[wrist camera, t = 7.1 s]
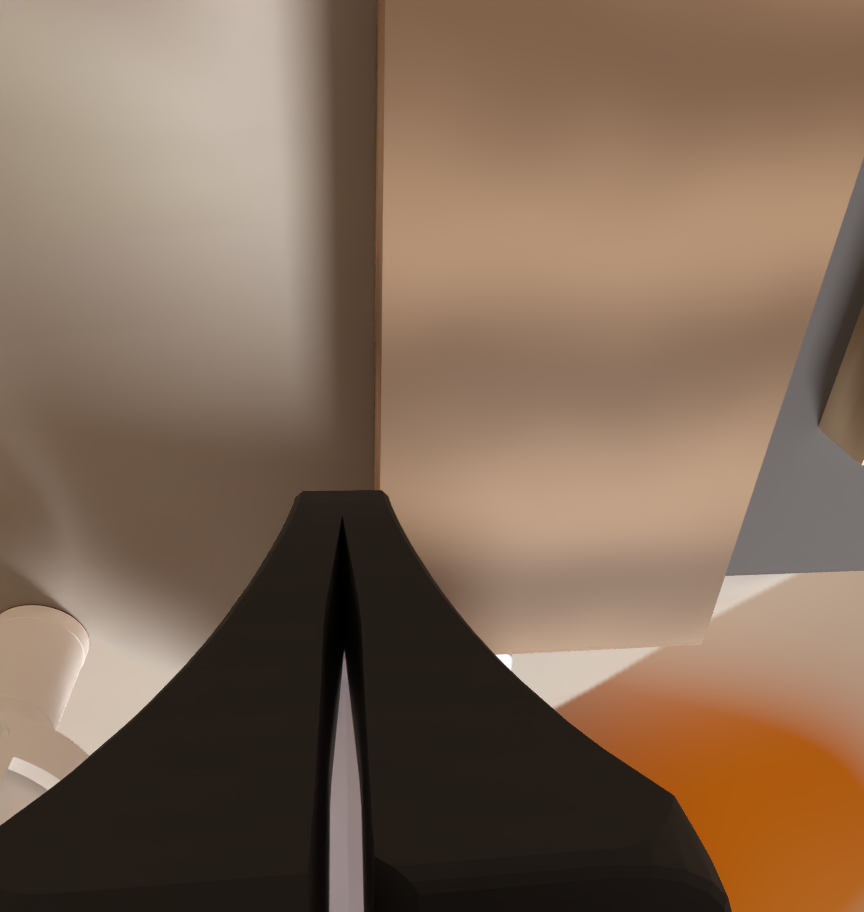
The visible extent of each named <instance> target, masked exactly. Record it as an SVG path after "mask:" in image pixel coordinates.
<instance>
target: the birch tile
mask: <svg viewBox="0 0 864 912" xmlns="http://www.w3.org/2000/svg"><path fill="white" fill-rule="evenodd" d="M818 428H819V429H820V430H821V431H822V432H823V433H825V434H826V435H827V436H828V437H829V438H830V439H831V440H833V441H834V442H835V443H836V444H837V445H838V446H840V447H841V448H842V449H843V450H844V451H845V452H846V453H848V454H849V455H850V456H851V457H852V458H853V459H855V460H856V461H857V462H858V463H859V464H860V465H864V304H863V306H862V309H861V312H860V314H859V317H858V320H857V323H856V325H855V328H854V331H853V334H852V336H851V339H850V342H849V344H848V347H847V350H846V353H845V355H844V358H843V361H842V363H841V366H840V369H839V372H838V374H837V377H836V380H835V383H834V385H833V388H832V391H831V393H830V396H829V399H828V402H827V404H826V407H825V410H824V412H823V415H822V418H821V421H820V423H819V426H818Z"/></svg>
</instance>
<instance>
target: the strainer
mask: <svg viewBox="0 0 864 912" xmlns="http://www.w3.org/2000/svg"><path fill="white" fill-rule="evenodd" d="M88 650H89V637H88V635H87V632H86V631H85V629H84V628H83V626H82V625H81V624H80V623H79V622H78V621H77V620H75V619H74V618H73V617H71V616H70V615H68V614H66V613H64V612H62V611H60V610H57V609H54V608H50V607H46V606H38V605H25V606H18V607H14V608H11V609H9V610H6V611H4V612H3V613H1V614H0V825H2V824H3V823H4V822H6V821H7V820H8V819H10V818H11V817H12V816H14V815H15V814H16V813H18V812H19V811H20V810H22V809H23V808H25V807H26V806H27V805H29V804H30V803H31V802H33V801H34V800H35V799H37V798H38V797H39V796H41V795H42V794H44V793H45V792H46V791H48V790H49V789H50V788H52V787H53V786H54V785H56V784H57V783H58V782H59V781H61V780H62V779H63V778H64V777H66V776H67V775H68V774H69V773H71V772H72V771H73V770H74V769H75V768H76V767H78V766H79V765H80V764H81V763H82V762H83V761H85V760H86V759H87V758H88V757H89V755H88V754H87V753H86V752H85V751H84V750H83V749H81V748H80V747H79V746H78V745H77V744H75V743H74V742H73V741H71V740H70V739H69V738H67V737H66V736H64V735H62V734H61V733H59V732H57V729H58V726H59V724H60V720H61V717H62V715H63V712H64V710H65V707H66V705H67V702H68V700H69V697H70V695H71V692H72V690H73V687H74V684H75V682H76V679H77V677H78V674H79V672H80V669H81V667H82V665H83V663H84V661H85V658H86V655H87V653H88Z"/></svg>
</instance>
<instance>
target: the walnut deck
mask: <svg viewBox="0 0 864 912" xmlns="http://www.w3.org/2000/svg"><path fill="white" fill-rule="evenodd" d="M863 158H864V0H377V39H376V227H375V414H374V490H382V491H383V492H384V493H385V494H387V495H388V496H389V500H390V502H391V505H392V507H393V510H394V512H395V514H396V516H397V519H398V521H399V523H400V525H401V527H402V528H403V530H404V532H405V534H406V536H407V538H408V539H409V541H410V543H411V545H412V546H413V548H414V550H415V551H416V553H417V554H418V556H419V558H420V559H421V561H422V562H423V564H424V565H425V567H426V568H427V570H428V571H429V573H430V575H431V576H432V578H433V579H434V580H435V582H436V583H437V585H438V586H439V587H440V589H441V590H442V592H443V593H444V594H445V596H446V597H447V598H448V600H449V601H450V602H451V604H452V605H453V606H454V608H455V609H456V610H457V611H458V613H459V614H460V615H461V616H462V618H463V619H464V620H465V621H466V623H467V624H468V625H469V626H470V627H471V628H472V630H473V631H474V632H475V633H476V634H477V635H478V637H479V638H480V639H481V640H482V641H483V642H484V643H485V644H486V645H487V646H488V647H489V649H490V650H491V651H492V652H493V653H494V654H495V655H502V654H522V653H542V652H562V651H582V650H602V649H622V648H642V647H662V646H681V645H700V644H701V645H702V643H703V641H704V637H705V634H706V631H707V628H708V625H709V622H710V619H711V616H712V613H713V610H714V607H715V604H716V601H717V598H718V595H719V592H720V589H721V586H722V583H723V580H724V577H725V574H726V571H727V568H728V565H729V562H730V559H731V556H732V553H733V550H734V547H735V544H736V541H737V538H738V535H739V532H740V529H741V526H742V523H743V520H744V517H745V514H746V511H747V508H748V505H749V502H750V499H751V496H752V493H753V490H754V487H755V484H756V481H757V478H758V475H759V472H760V469H761V466H762V463H763V460H764V457H765V454H766V451H767V448H768V445H769V441H770V438H771V435H772V432H773V429H774V426H775V423H776V420H777V417H778V414H779V411H780V408H781V405H782V402H783V399H784V396H785V393H786V390H787V387H788V384H789V381H790V378H791V375H792V372H793V369H794V366H795V363H796V360H797V357H798V354H799V351H800V348H801V345H802V342H803V339H804V336H805V333H806V330H807V327H808V324H809V321H810V318H811V315H812V312H813V309H814V306H815V303H816V300H817V297H818V294H819V291H820V288H821V285H822V282H823V279H824V276H825V273H826V270H827V267H828V264H829V261H830V258H831V255H832V252H833V249H834V245H835V242H836V239H837V236H838V233H839V230H840V227H841V224H842V221H843V218H844V215H845V212H846V209H847V206H848V203H849V200H850V197H851V194H852V191H853V188H854V185H855V182H856V179H857V176H858V173H859V170H860V167H861V164H862V161H863Z"/></svg>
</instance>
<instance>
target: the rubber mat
mask: <svg viewBox="0 0 864 912" xmlns="http://www.w3.org/2000/svg"><path fill="white" fill-rule="evenodd" d="M863 304H864V158H863V161H862V164H861V167H860V170H859V173H858V176H857V179H856V182H855V185H854V188H853V191H852V194H851V197H850V200H849V203H848V206H847V209H846V212H845V215H844V218H843V221H842V224H841V227H840V230H839V233H838V236H837V239H836V242H835V245H834V249H833V252H832V255H831V258H830V261H829V264H828V267H827V270H826V273H825V276H824V279H823V282H822V285H821V288H820V291H819V294H818V297H817V300H816V303H815V306H814V309H813V312H812V315H811V318H810V321H809V324H808V327H807V330H806V333H805V336H804V339H803V342H802V345H801V348H800V351H799V354H798V357H797V360H796V363H795V366H794V369H793V372H792V375H791V378H790V381H789V384H788V387H787V390H786V393H785V396H784V399H783V402H782V405H781V408H780V411H779V414H778V417H777V420H776V423H775V426H774V429H773V432H772V435H771V438H770V441H769V445H768V448H767V451H766V454H765V457H764V460H763V463H762V466H761V469H760V472H759V475H758V478H757V481H756V484H755V487H754V490H753V493H752V496H751V499H750V502H749V505H748V508H747V511H746V514H745V517H744V520H743V523H742V526H741V529H740V532H739V535H738V538H737V541H736V544H735V547H734V550H733V553H732V556H731V559H730V562H729V565H728V568H727V571H726V574H725V576H734V575H759V574H785V573H810V572H835V571H863V570H864V465H860V464H859V463H858V462H857V461H856V460H855V459H853V458H852V457H851V456H850V455H849V454H848V453H846V452H845V451H844V450H843V449H842V448H841V447H840V446H838V445H837V444H836V443H835V442H834V441H833V440H831V439H830V438H829V437H828V436H827V435H826V434H825V433H823V432H822V431H821V430H820V429H819V428H818V426H819V423H820V421H821V418H822V415H823V412H824V410H825V407H826V404H827V402H828V399H829V396H830V393H831V391H832V388H833V385H834V383H835V380H836V377H837V374H838V372H839V369H840V366H841V363H842V361H843V358H844V355H845V353H846V350H847V347H848V344H849V342H850V339H851V336H852V334H853V331H854V328H855V325H856V323H857V320H858V317H859V314H860V312H861V309H862V306H863Z"/></svg>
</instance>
